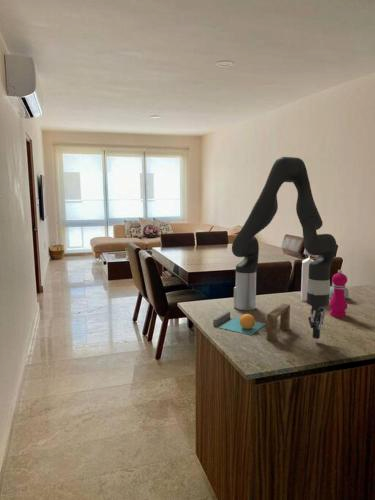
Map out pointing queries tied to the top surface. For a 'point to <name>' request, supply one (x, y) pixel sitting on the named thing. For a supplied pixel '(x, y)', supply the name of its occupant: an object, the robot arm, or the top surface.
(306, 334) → the top surface
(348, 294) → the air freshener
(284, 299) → the top surface
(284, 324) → the bridge
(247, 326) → the ball
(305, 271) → the milk
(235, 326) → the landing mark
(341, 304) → the pepper mill
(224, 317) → the stopper
